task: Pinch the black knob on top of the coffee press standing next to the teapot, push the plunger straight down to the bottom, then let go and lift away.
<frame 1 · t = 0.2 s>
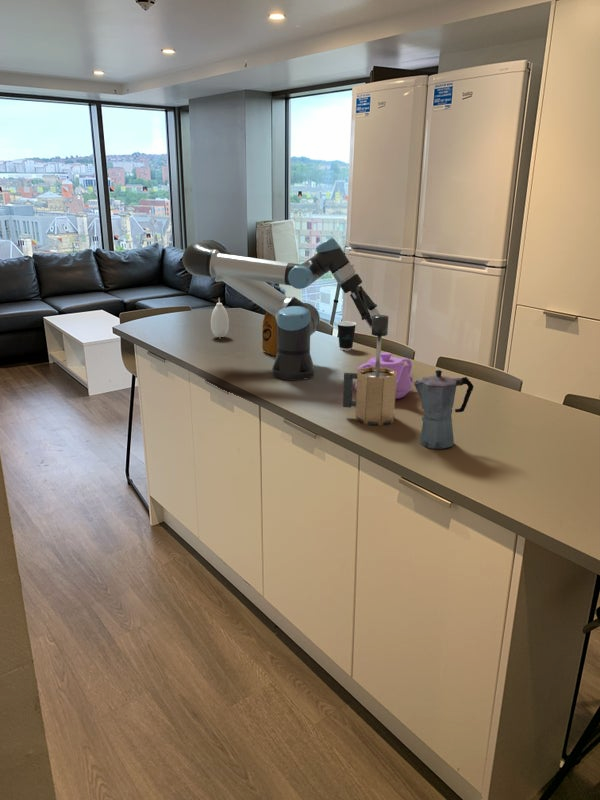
hand: (380, 328, 218), 16 cm above the worktop, tool tilted 35°, fingers open, 13 cm apart
wooden slat mug: (374, 418, 176), on the worktop
coffee package: (278, 352, 246), on the worktop
dixie cup: (345, 349, 251), on the worktop
moka pot: (437, 443, 159), on the worktop
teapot: (387, 396, 195), on the worktop
sauce bottle: (220, 338, 268), on the worktop
plunger: (378, 348, 169), point 21 cm above the worktop, slide at 0.0 cm
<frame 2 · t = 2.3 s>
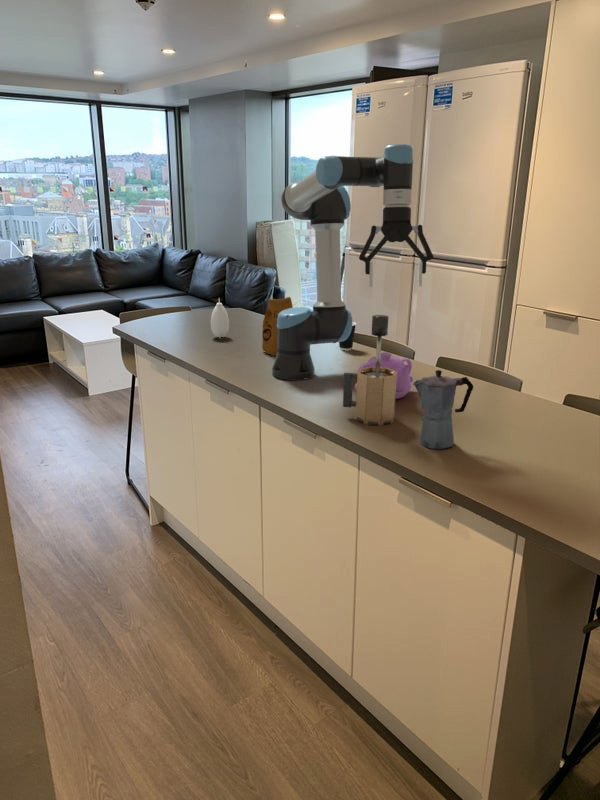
hand: (395, 286, 169), 37 cm above the worktop, tool pointing down, fingers open, 13 cm apart
nothing on the worktop moved.
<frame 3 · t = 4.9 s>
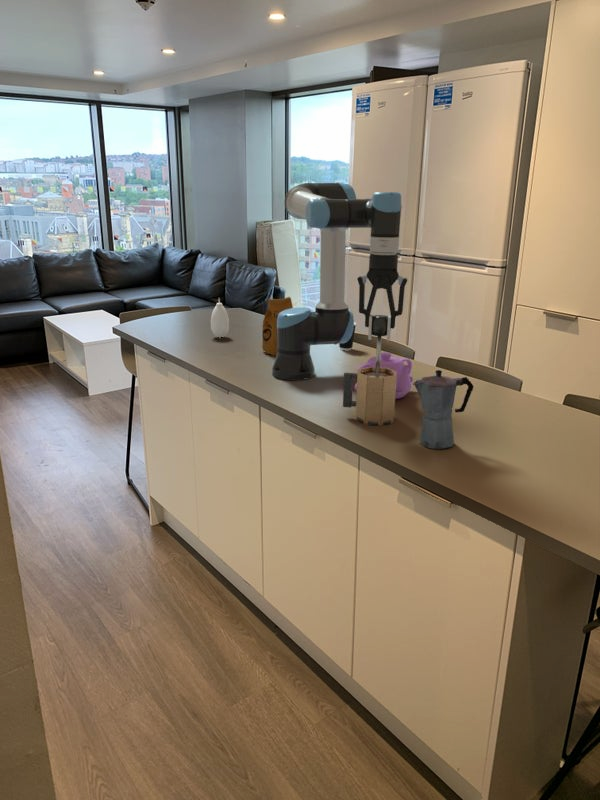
hand: (379, 339, 168), 24 cm above the worktop, tool pointing down, fingers closed on plunger, 4 cm apart
plunger: (378, 348, 169), point 21 cm above the worktop, slide at 0.0 cm, touching gripper
everything else where it was.
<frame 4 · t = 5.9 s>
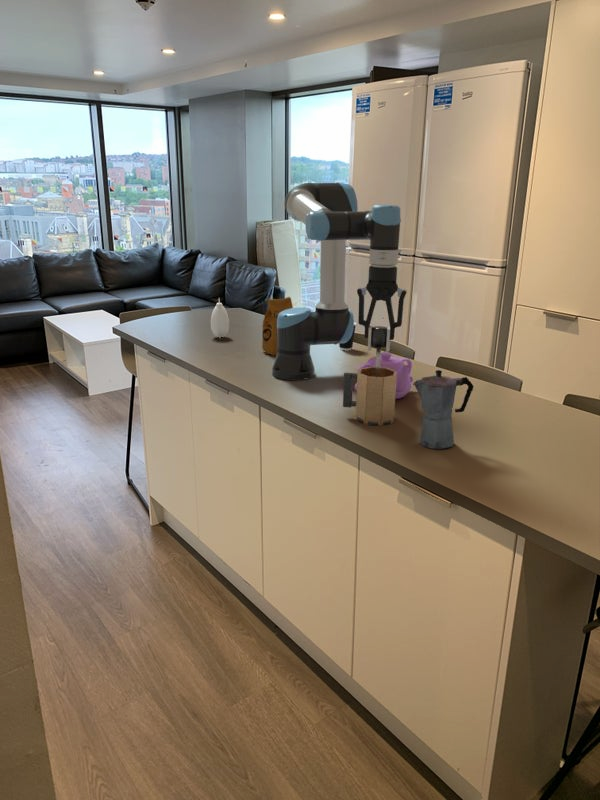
hand: (378, 350, 169), 20 cm above the worktop, tool pointing down, fingers closed on plunger, 4 cm apart
plunger: (378, 359, 170), point 18 cm above the worktop, slide at 3.2 cm, touching gripper
everything else where it was.
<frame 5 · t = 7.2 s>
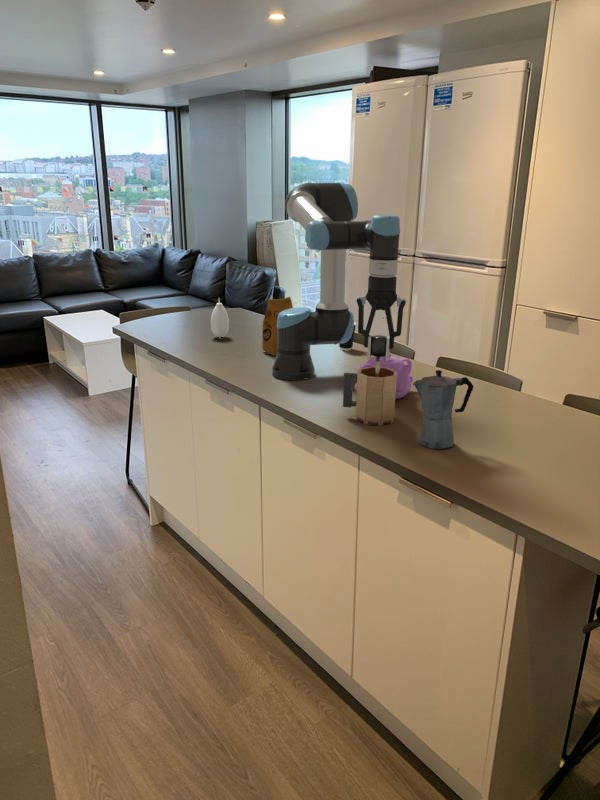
hand: (378, 359, 170), 18 cm above the worktop, tool pointing down, fingers closed on plunger, 4 cm apart
plunger: (377, 368, 171), point 15 cm above the worktop, slide at 5.8 cm, touching gripper
everything else where it was.
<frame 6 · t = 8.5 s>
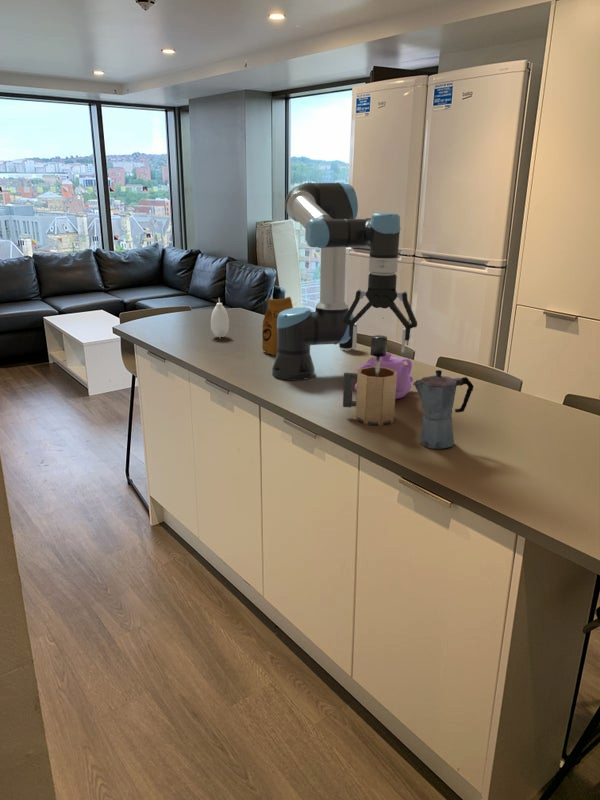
hand: (378, 350, 169), 20 cm above the worktop, tool pointing down, fingers open, 13 cm apart
plunger: (377, 368, 171), point 15 cm above the worktop, slide at 5.8 cm
everything else where it was.
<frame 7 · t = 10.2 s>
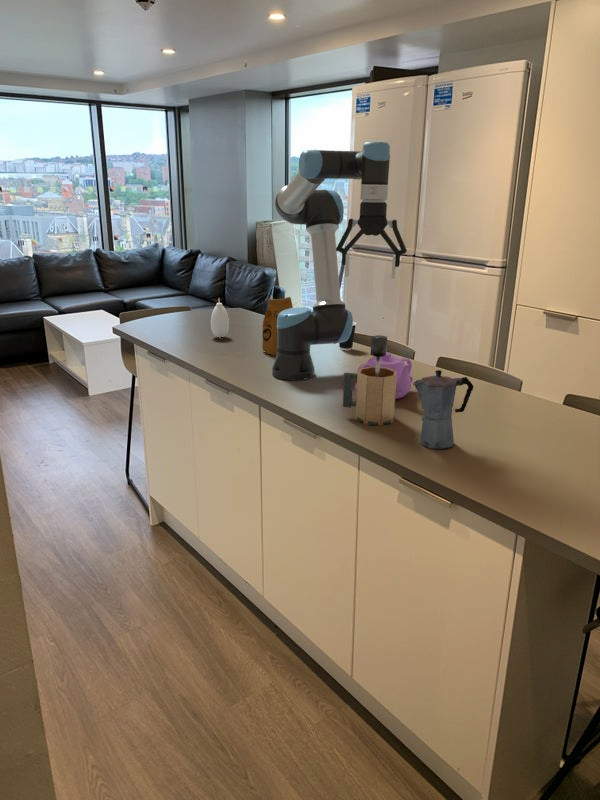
hand: (369, 277, 178), 38 cm above the worktop, tool pointing down, fingers open, 13 cm apart
nothing on the worktop moved.
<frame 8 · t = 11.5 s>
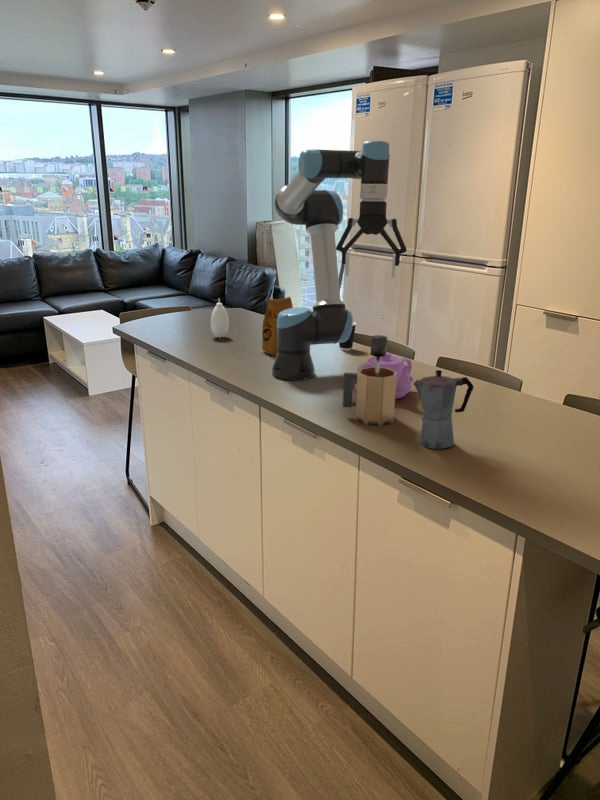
hand: (369, 276, 178), 39 cm above the worktop, tool pointing down, fingers open, 13 cm apart
nothing on the worktop moved.
at the end: plunger slide at 5.8 cm; the gripper is holding nothing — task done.
